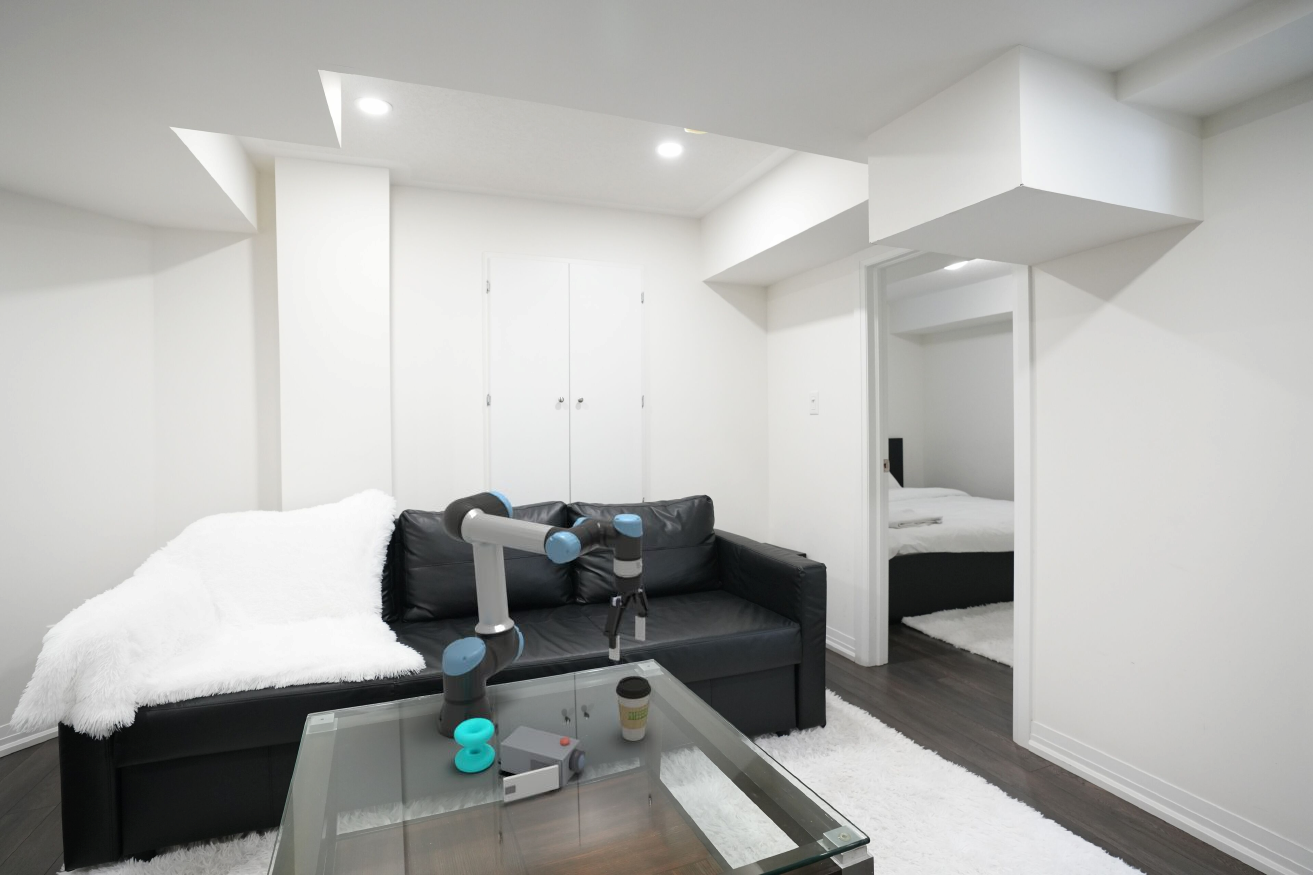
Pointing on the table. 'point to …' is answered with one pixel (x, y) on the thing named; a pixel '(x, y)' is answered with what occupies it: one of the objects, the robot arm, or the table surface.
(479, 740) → the donuts
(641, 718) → the coffee cup
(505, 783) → the side door
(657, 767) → the table surface
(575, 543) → the robot arm
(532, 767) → the grey boxy piece
